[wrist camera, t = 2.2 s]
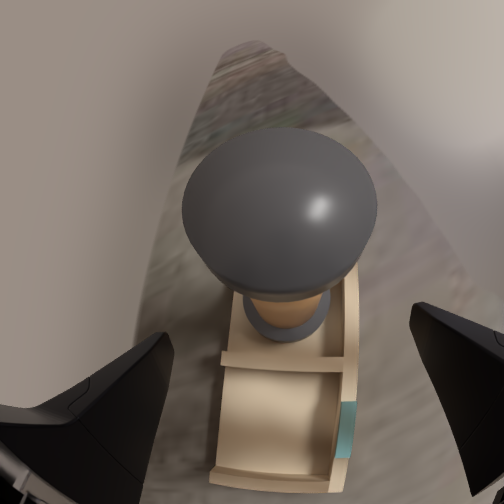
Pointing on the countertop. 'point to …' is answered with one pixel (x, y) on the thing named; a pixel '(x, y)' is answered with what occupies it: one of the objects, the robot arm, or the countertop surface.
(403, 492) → the countertop surface
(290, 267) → the bobbin
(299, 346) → the divided tray
